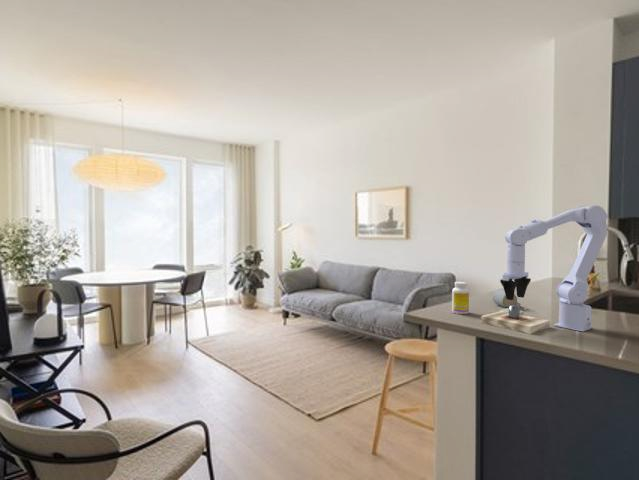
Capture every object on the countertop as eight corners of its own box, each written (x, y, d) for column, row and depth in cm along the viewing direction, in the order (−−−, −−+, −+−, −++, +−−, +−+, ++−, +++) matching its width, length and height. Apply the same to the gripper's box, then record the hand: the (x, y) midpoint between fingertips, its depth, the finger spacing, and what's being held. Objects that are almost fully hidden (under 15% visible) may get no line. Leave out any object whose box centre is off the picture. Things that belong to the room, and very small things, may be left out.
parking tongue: (523, 316, 151) (523, 311, 151) (514, 318, 147) (514, 313, 147) (506, 312, 156) (506, 308, 156) (497, 315, 152) (497, 310, 152)
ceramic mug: (503, 309, 164) (503, 291, 163) (491, 304, 172) (492, 288, 171) (525, 308, 165) (525, 291, 165) (512, 304, 173) (513, 288, 173)
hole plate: (549, 327, 135) (549, 320, 135) (530, 333, 127) (530, 326, 127) (501, 317, 150) (501, 310, 149) (481, 322, 142) (481, 315, 141)
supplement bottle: (471, 314, 154) (471, 283, 153) (454, 314, 154) (455, 283, 153) (465, 310, 160) (465, 281, 160) (449, 310, 160) (450, 281, 160)
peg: (521, 325, 138) (521, 306, 137) (515, 326, 136) (516, 307, 136) (512, 323, 141) (512, 304, 140) (506, 324, 139) (506, 305, 139)
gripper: (515, 259, 145) (514, 294, 145) (494, 262, 136) (494, 298, 137) (534, 261, 139) (533, 297, 139) (513, 263, 131) (513, 302, 131)
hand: (515, 298), depth 138 cm, fingers open, 7 cm apart
